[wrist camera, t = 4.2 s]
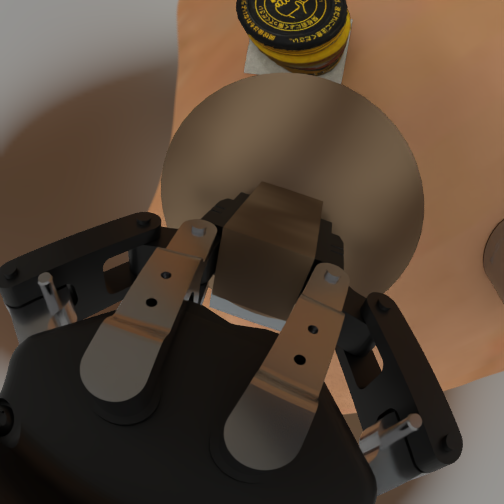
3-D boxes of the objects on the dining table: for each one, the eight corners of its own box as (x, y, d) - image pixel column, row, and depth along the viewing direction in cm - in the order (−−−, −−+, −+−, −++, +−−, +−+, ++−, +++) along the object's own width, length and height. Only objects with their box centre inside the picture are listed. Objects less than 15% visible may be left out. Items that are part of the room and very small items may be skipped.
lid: (455, 138, 9) (526, 172, 4) (352, 332, 17) (348, 410, 12) (190, 56, 11) (106, 45, 6) (167, 266, 19) (116, 324, 14)
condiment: (339, 90, 19) (352, 79, 9) (244, 72, 20) (176, 57, 11) (352, 20, 15) (369, -40, 5) (256, 5, 16) (200, -51, 6)
